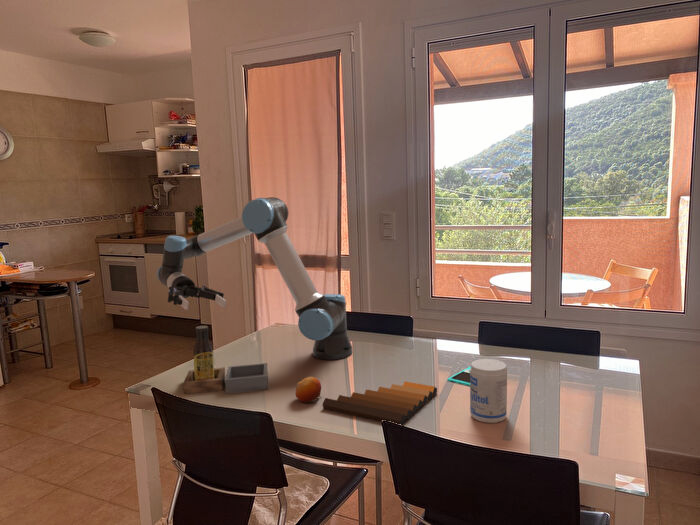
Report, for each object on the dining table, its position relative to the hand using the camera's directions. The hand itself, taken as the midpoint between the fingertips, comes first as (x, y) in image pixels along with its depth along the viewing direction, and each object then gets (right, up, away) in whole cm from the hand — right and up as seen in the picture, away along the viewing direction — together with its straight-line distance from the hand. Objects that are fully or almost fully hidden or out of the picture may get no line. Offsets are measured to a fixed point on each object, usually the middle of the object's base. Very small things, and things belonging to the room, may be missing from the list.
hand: (206, 305), depth 178 cm
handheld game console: (+88, -24, -6) cm, 92 cm away
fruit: (+36, -27, -18) cm, 48 cm away
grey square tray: (+14, -26, -3) cm, 30 cm away
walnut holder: (0, -26, -2) cm, 26 cm away
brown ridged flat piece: (+58, -27, -22) cm, 67 cm away
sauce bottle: (0, -27, -2) cm, 27 cm away
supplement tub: (+86, -27, -35) cm, 97 cm away
